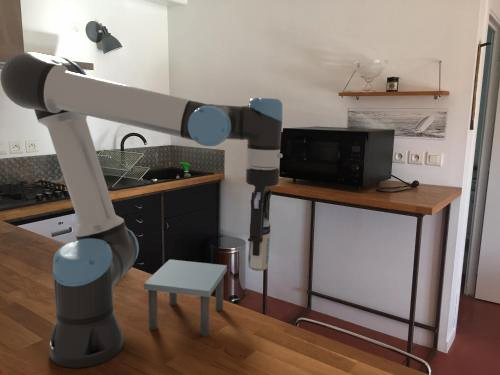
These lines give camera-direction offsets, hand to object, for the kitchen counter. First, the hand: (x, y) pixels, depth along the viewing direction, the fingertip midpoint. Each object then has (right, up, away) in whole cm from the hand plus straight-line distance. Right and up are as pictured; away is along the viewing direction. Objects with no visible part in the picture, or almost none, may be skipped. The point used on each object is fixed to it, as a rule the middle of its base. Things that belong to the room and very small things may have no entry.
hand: (258, 263), depth 103 cm
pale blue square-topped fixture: (-18, -15, +7) cm, 24 cm away
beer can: (0, -1, 0) cm, 1 cm away
